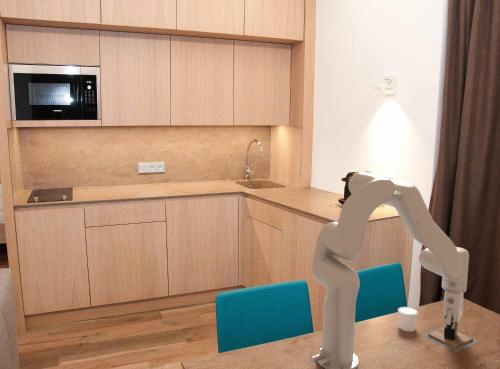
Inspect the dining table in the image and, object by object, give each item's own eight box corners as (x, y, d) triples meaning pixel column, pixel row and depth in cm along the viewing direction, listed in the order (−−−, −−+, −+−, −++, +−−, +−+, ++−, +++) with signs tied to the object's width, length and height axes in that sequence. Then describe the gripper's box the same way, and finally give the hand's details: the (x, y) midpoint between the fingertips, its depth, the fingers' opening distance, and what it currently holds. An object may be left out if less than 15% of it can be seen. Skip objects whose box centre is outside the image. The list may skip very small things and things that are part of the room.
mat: (455, 353, 146) (455, 352, 146) (421, 336, 157) (421, 335, 156) (479, 342, 152) (479, 341, 152) (444, 327, 163) (445, 326, 163)
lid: (454, 348, 148) (455, 332, 147) (428, 336, 156) (429, 320, 155) (472, 340, 153) (474, 324, 152) (446, 328, 161) (447, 313, 160)
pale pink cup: (419, 333, 159) (421, 314, 158) (400, 333, 159) (401, 314, 158) (413, 324, 166) (414, 306, 164) (394, 324, 166) (395, 306, 165)
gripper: (462, 295, 142) (458, 349, 145) (470, 279, 156) (466, 329, 159) (437, 290, 146) (433, 343, 149) (446, 274, 160) (443, 323, 163)
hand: (450, 335), depth 154 cm, fingers closed on lid, 4 cm apart
